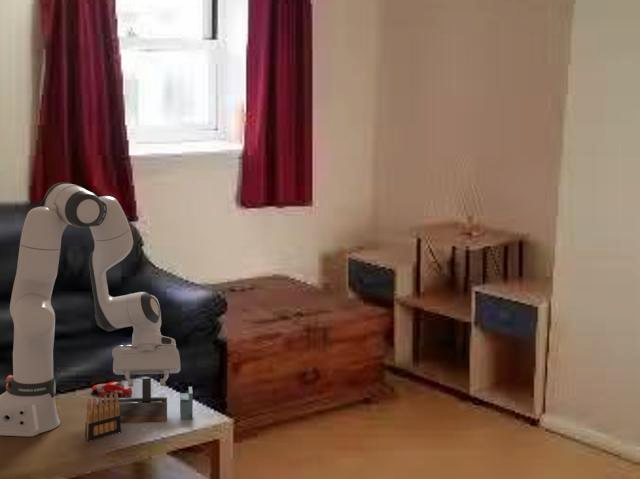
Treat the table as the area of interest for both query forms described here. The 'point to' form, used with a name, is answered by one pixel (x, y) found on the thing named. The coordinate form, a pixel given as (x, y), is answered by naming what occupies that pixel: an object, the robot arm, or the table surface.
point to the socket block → (186, 404)
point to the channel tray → (141, 410)
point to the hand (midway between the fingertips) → (146, 385)
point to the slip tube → (145, 392)
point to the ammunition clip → (103, 418)
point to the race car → (112, 389)
